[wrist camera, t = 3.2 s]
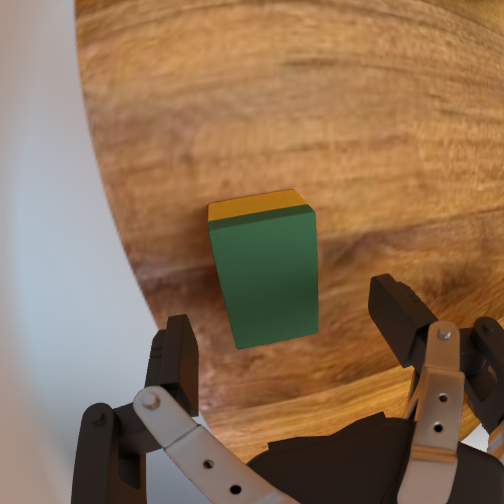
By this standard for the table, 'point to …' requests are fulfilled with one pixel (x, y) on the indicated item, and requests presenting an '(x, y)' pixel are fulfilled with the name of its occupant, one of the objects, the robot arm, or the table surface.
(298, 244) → the sponge
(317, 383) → the table surface
